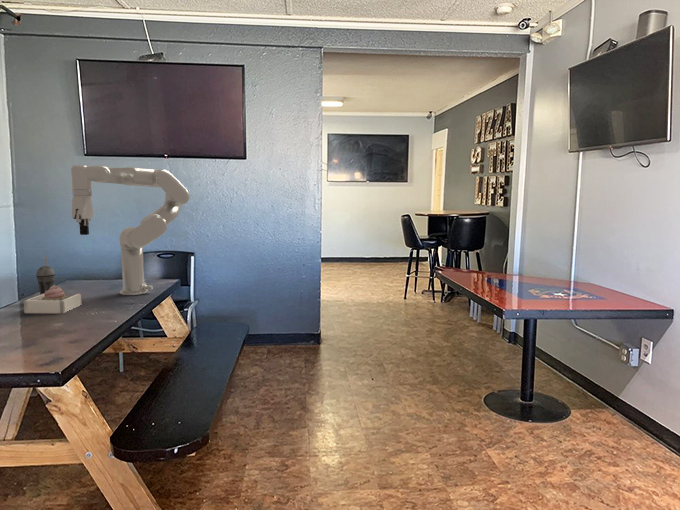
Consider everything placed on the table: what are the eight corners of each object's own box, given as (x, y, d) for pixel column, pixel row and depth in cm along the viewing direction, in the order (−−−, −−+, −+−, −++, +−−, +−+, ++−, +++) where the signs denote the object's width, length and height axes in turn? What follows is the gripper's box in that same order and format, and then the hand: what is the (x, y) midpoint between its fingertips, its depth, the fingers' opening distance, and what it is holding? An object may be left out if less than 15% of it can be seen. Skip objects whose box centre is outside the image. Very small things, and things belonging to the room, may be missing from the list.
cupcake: (55, 311, 198) (53, 287, 197) (37, 310, 201) (35, 286, 200) (73, 306, 207) (72, 283, 206) (55, 305, 210) (54, 282, 209)
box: (81, 305, 210) (80, 293, 209) (63, 313, 196) (62, 301, 195) (45, 304, 210) (44, 293, 209) (24, 313, 196) (23, 300, 195)
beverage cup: (33, 301, 215) (30, 256, 212) (48, 298, 222) (45, 254, 219) (46, 303, 213) (43, 257, 210) (60, 299, 220) (57, 255, 217)
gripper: (82, 193, 224) (84, 233, 227) (64, 193, 210) (67, 236, 212) (98, 193, 225) (100, 233, 227) (82, 193, 210) (84, 236, 212)
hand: (84, 234), depth 220 cm, fingers closed
